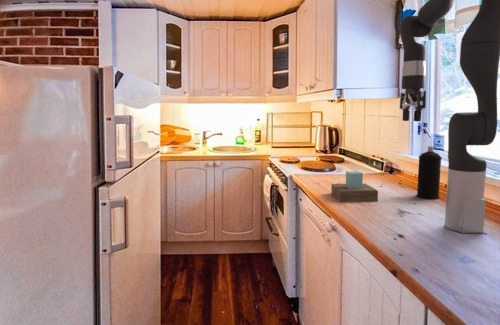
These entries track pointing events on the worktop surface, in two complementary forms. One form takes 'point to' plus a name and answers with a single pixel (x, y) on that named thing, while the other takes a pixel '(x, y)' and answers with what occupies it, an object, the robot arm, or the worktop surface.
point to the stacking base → (354, 193)
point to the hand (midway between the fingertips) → (411, 121)
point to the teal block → (354, 179)
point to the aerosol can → (429, 175)
